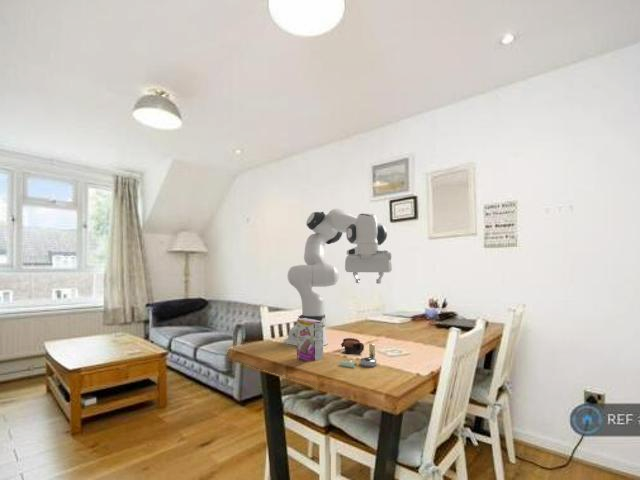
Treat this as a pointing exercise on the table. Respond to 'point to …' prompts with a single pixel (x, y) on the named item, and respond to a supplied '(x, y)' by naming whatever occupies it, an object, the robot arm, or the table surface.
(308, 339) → the candy bar box
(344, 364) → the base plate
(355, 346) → the pottery mug
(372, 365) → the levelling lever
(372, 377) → the table surface
